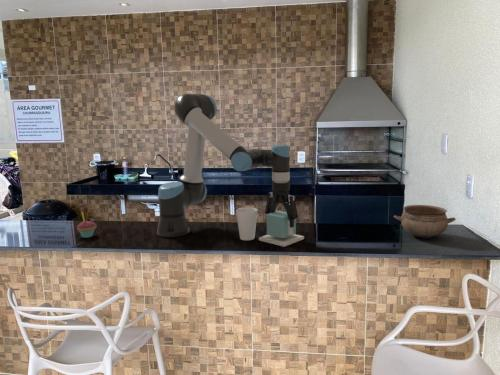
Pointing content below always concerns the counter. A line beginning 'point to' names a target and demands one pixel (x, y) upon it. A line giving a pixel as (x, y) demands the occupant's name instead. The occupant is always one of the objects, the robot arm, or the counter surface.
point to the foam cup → (247, 222)
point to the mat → (281, 239)
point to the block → (279, 224)
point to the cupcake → (86, 228)
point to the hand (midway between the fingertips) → (281, 232)
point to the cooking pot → (424, 220)
